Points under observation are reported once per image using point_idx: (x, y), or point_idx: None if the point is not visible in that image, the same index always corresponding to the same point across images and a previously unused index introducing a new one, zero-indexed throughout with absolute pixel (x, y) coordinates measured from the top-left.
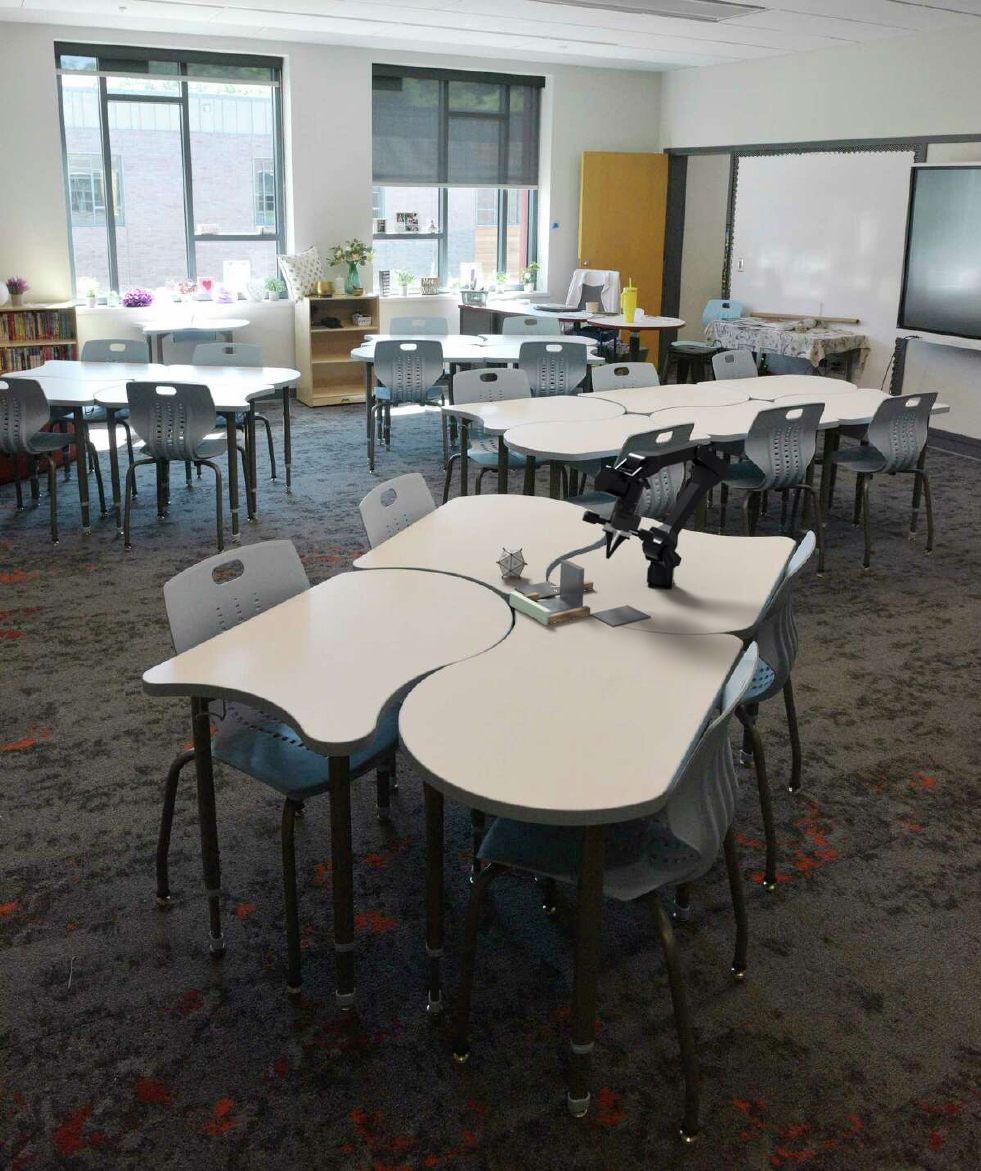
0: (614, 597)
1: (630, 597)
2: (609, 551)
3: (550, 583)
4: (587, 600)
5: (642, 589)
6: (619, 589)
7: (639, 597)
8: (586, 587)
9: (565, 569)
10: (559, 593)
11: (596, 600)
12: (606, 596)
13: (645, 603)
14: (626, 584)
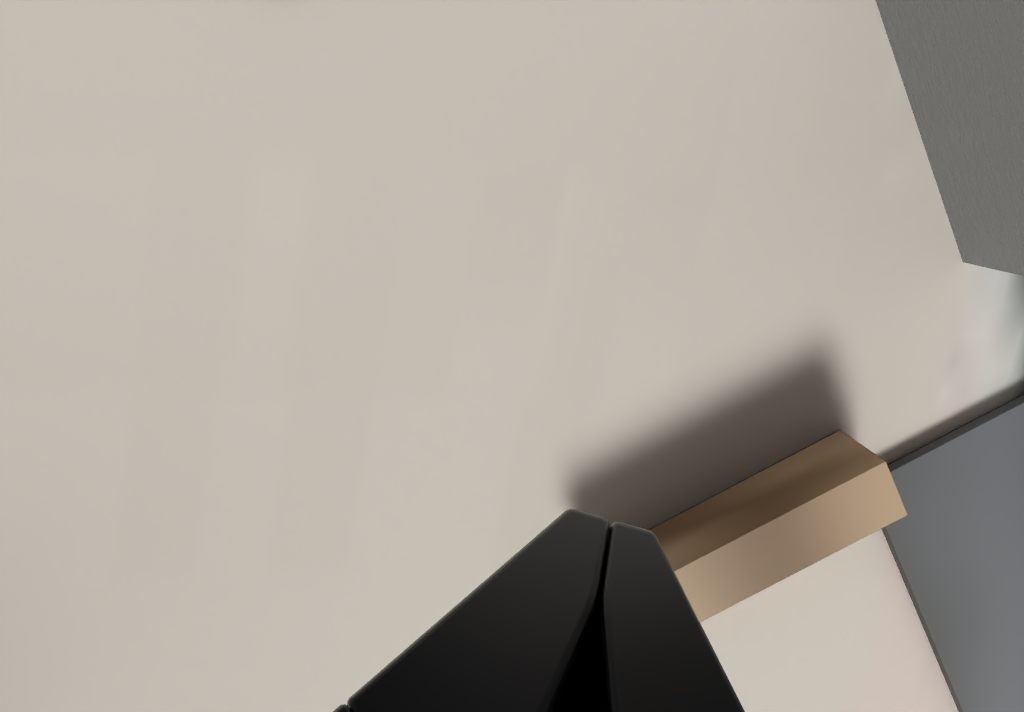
0: (391, 316)
1: (195, 310)
2: (613, 637)
3: (978, 686)
4: (720, 231)
5: (19, 563)
6: (295, 561)
7: (79, 307)
8: (678, 537)
9: None
10: (969, 428)
11: (619, 226)
12: (479, 351)
13: (15, 88)
14: (195, 704)
